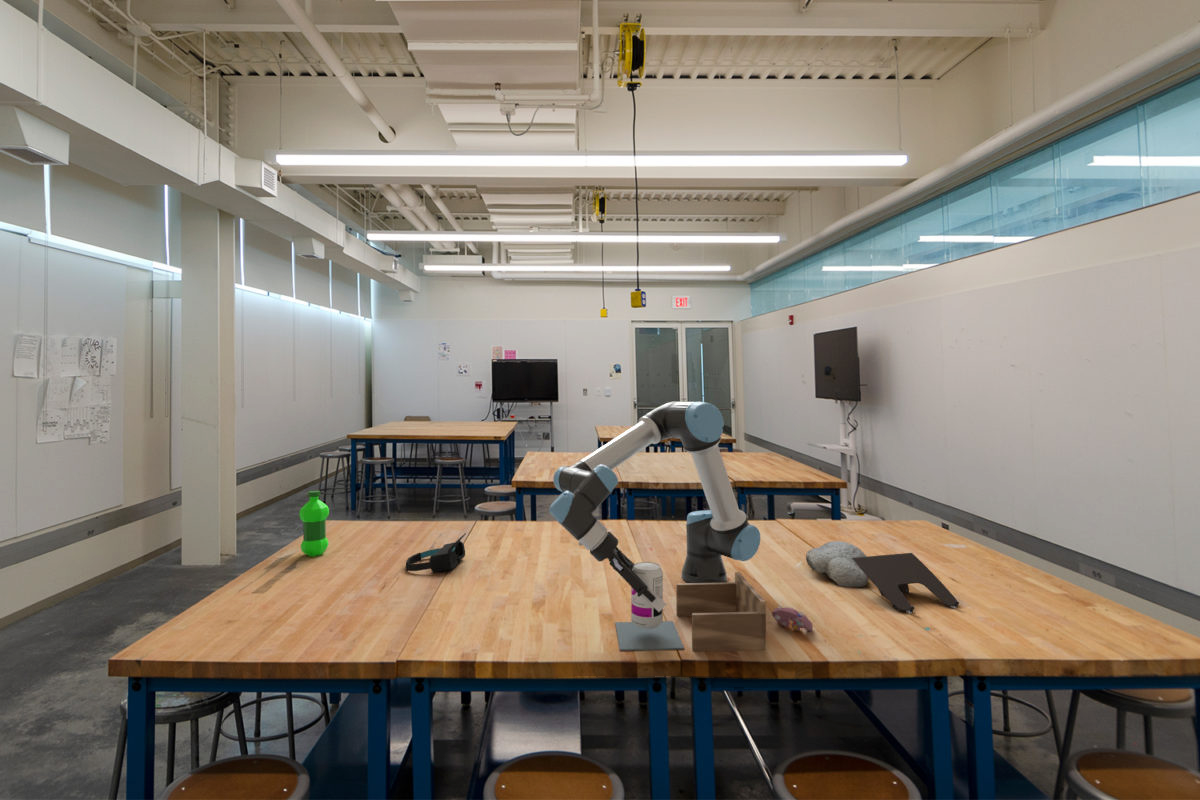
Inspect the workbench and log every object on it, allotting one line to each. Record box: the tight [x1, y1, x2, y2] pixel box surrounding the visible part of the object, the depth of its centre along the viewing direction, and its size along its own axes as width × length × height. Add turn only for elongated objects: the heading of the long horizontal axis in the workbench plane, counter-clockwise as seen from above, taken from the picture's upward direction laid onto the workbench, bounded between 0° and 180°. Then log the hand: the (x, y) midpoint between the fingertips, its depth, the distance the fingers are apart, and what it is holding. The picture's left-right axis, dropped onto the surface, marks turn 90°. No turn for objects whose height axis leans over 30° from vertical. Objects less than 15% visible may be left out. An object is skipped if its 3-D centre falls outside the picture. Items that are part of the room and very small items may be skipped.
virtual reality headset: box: [405, 532, 467, 573], centre depth 204 cm, size 19×22×10 cm
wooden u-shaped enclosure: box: [675, 571, 767, 652], centre depth 148 cm, size 22×18×12 cm
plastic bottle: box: [298, 490, 330, 557], centre depth 218 cm, size 10×10×25 cm
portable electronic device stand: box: [852, 552, 960, 615], centre depth 171 cm, size 23×23×9 cm
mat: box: [614, 620, 685, 652], centre depth 145 cm, size 16×16×1 cm
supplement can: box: [630, 561, 664, 629], centre depth 145 cm, size 8×8×15 cm
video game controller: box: [771, 605, 814, 632], centre depth 149 cm, size 10×5×7 cm, turn 46°
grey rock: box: [805, 540, 869, 588], centre depth 195 cm, size 28×21×9 cm
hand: (659, 601), depth 145 cm, fingers closed on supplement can, 8 cm apart
